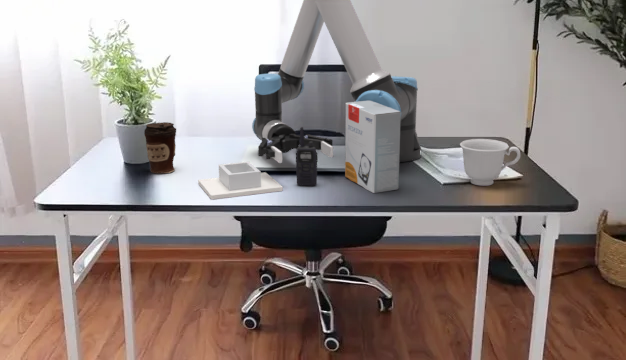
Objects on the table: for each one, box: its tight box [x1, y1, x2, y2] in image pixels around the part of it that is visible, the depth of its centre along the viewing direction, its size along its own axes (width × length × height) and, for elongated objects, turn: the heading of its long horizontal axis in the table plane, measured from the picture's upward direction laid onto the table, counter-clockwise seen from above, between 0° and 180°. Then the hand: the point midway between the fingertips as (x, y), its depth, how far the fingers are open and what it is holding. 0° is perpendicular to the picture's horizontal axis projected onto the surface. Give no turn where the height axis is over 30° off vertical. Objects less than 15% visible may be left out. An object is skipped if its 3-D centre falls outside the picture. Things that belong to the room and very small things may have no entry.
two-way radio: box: [295, 126, 319, 187], centre depth 185 cm, size 6×4×15 cm
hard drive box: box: [344, 100, 401, 194], centre depth 184 cm, size 16×8×20 cm, turn 25°
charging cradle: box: [197, 161, 284, 200], centre depth 184 cm, size 18×14×5 cm
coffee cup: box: [143, 121, 177, 174], centre depth 197 cm, size 9×8×13 cm
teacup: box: [459, 138, 521, 187], centre depth 185 cm, size 12×15×10 cm
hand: (306, 154), depth 184 cm, fingers open, 13 cm apart
